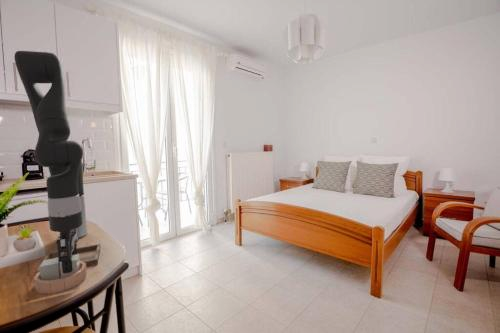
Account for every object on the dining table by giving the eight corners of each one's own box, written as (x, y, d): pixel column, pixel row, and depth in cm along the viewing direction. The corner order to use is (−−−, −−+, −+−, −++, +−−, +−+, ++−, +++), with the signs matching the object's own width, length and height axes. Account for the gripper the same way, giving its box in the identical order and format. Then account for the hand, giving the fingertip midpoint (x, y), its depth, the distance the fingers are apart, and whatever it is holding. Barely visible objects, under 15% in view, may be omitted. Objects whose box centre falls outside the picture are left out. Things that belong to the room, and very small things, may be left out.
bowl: (42, 277, 74) (41, 266, 74) (88, 267, 79) (87, 257, 79) (30, 299, 64) (28, 286, 63) (83, 286, 69) (82, 275, 69)
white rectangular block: (64, 276, 73) (62, 256, 73) (80, 272, 75) (79, 253, 75) (61, 283, 70) (59, 262, 69) (78, 279, 72) (76, 259, 71)
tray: (48, 258, 86) (47, 252, 85) (100, 248, 93) (100, 243, 93) (36, 277, 74) (35, 271, 74) (97, 265, 81) (97, 259, 81)
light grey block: (45, 280, 71) (43, 260, 71) (62, 276, 73) (60, 257, 73) (41, 287, 68) (39, 266, 67) (60, 283, 70) (57, 263, 69)
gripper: (54, 206, 75) (59, 257, 77) (41, 221, 62) (48, 281, 64) (84, 203, 78) (88, 252, 80) (77, 216, 66) (82, 273, 68)
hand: (70, 265), depth 72 cm, fingers open, 8 cm apart
